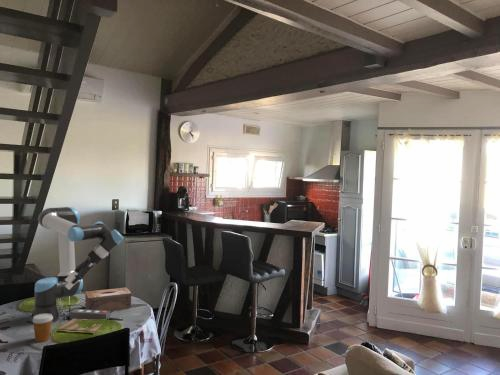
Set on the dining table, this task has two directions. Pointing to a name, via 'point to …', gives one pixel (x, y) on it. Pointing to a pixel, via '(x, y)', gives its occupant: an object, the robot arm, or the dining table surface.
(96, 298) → the tissue box cover
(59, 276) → the robot arm
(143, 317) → the dining table surface
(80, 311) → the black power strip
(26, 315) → the dining table surface
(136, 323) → the dining table surface
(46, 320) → the disposable coffee cup
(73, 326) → the walnut board
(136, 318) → the dining table surface
